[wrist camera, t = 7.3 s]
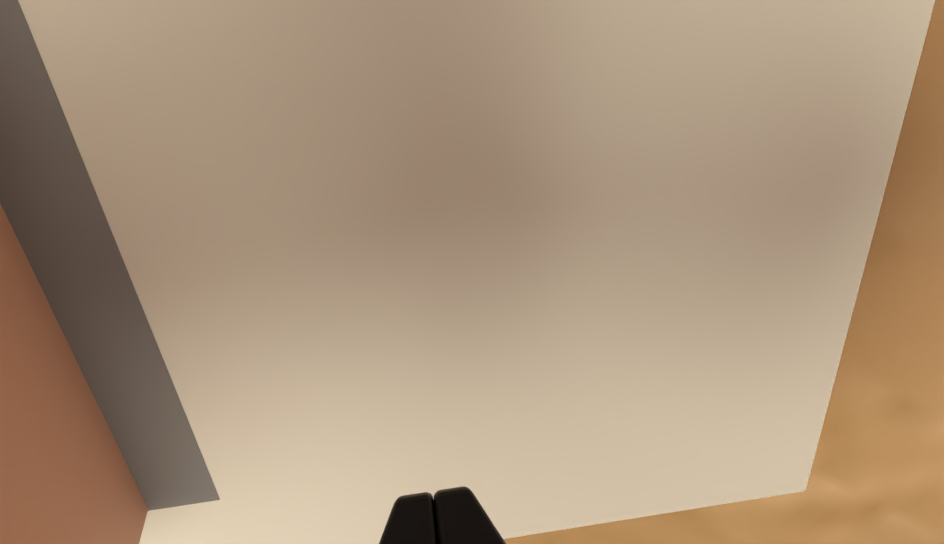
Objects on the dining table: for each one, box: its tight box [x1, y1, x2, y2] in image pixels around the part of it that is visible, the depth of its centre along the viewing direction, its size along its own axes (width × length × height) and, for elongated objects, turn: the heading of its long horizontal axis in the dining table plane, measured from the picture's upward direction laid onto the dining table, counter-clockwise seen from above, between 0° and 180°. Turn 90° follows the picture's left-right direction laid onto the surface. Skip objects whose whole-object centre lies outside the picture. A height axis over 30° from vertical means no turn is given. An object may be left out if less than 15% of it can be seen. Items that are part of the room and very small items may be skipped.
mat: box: [0, 0, 935, 544], centre depth 13 cm, size 20×28×1 cm
